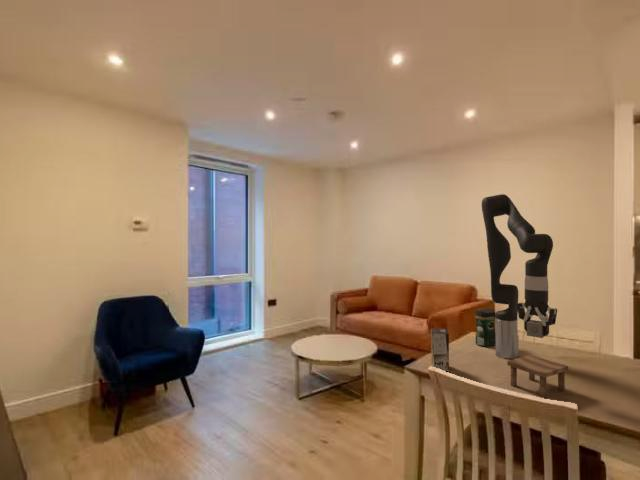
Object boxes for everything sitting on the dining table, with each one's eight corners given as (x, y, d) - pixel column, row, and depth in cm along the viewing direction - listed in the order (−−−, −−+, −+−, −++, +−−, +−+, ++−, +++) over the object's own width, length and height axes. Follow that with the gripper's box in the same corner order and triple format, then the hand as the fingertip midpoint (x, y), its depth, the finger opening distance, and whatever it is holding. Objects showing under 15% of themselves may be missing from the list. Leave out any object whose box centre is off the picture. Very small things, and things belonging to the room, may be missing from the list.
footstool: (530, 377, 144) (530, 354, 144) (568, 390, 132) (568, 366, 132) (507, 384, 138) (507, 361, 138) (544, 399, 125) (544, 373, 125)
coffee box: (449, 372, 151) (449, 333, 150) (433, 371, 152) (432, 333, 152) (446, 364, 160) (446, 328, 159) (431, 363, 161) (430, 327, 161)
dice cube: (545, 335, 135) (545, 321, 135) (542, 338, 131) (542, 324, 131) (530, 332, 138) (530, 319, 138) (526, 335, 135) (526, 322, 135)
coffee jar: (486, 341, 192) (485, 306, 192) (498, 345, 185) (498, 309, 185) (472, 343, 188) (472, 308, 188) (484, 348, 181) (484, 311, 181)
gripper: (511, 286, 139) (511, 330, 139) (550, 291, 126) (550, 340, 126) (524, 284, 142) (524, 327, 143) (562, 289, 129) (562, 336, 130)
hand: (536, 333), depth 134 cm, fingers closed on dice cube, 5 cm apart
